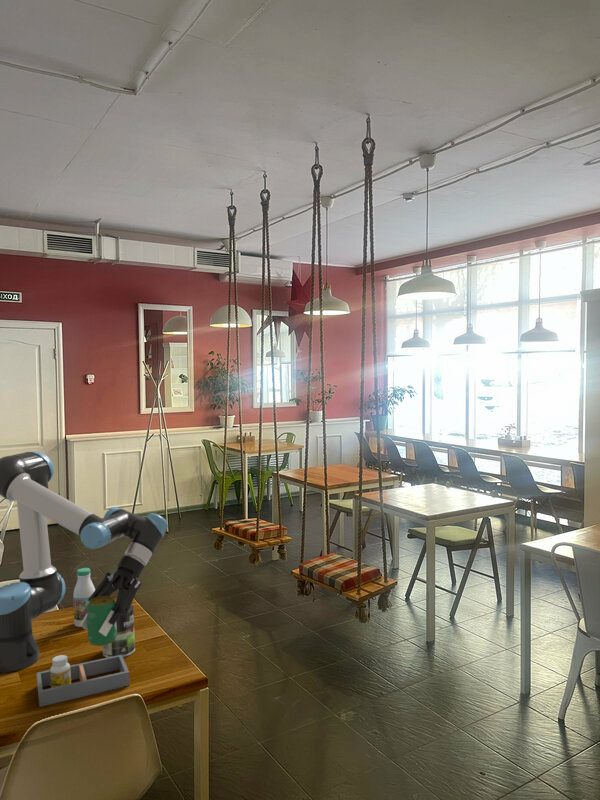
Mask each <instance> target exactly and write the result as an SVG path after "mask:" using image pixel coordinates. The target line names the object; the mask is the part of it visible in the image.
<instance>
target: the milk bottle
mask: <svg viewBox="0 0 600 800" xmlns="http://www.w3.org/2000/svg"><path fill="white" fill-rule="evenodd" d="M76 577H77V581H76V584H75V586H74V590H73V597H72V599H73V601H72V602H73V620H74V621H73V622H74V626H75V627H76V628H80V627H81V626H80V623H81V622H82V620H83V619H84V617H85V614H86V612H87V605H88V603H89V601H88V599H89V598H90V596H91V595H92V594H93V592H94V591H95V590H96V588H95V586H94V583H93V581H92V579H91V569H90V568H89V567H82V568H79V569H77V570H76Z"/></svg>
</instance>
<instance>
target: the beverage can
mask: <svg viewBox="0 0 600 800" xmlns="http://www.w3.org/2000/svg"><path fill="white" fill-rule="evenodd" d="M115 604H116V600H114V597H113V596H111V595H110V596H99V597H95V598H93V599H91V600H90V601H89V603H88V605H87V621H88V629H87V639H88V641H89V644H90V645H92V646H95V647H100V646H102V647H103V645H107V644H110V643H112V642H113V641H115V638H116V636H117V625H116V622H115V624H114V625H112V627H111V629H110V630H109V632H108V634H107V636H104V635H102V634H101V633H100V632H99V630H100V628H101V627H102V625H103V623H104V622H105V620H106V618H107V617H108V615H109V613H110V612H111V610H112V609H113V608H115ZM112 611H114V610H112Z"/></svg>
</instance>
